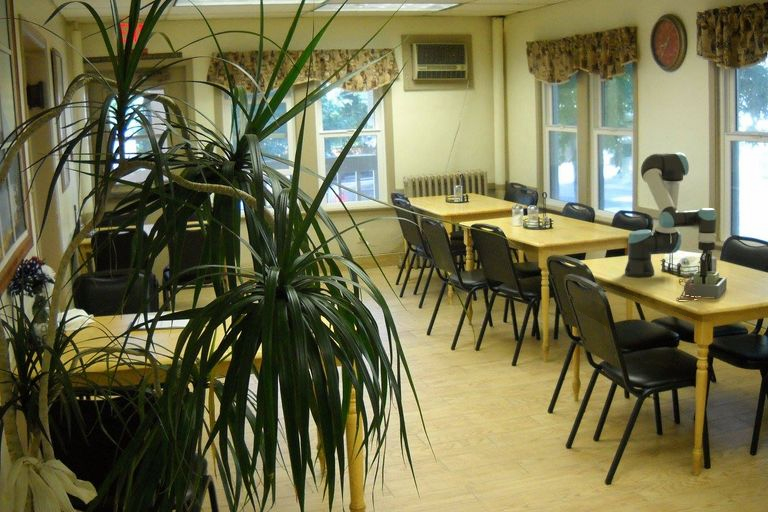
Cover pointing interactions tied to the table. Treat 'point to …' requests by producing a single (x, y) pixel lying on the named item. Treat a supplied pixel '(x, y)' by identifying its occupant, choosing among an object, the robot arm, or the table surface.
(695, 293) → the grey open rectangular box
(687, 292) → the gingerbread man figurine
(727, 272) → the table surface
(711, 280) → the block
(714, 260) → the medicine box
